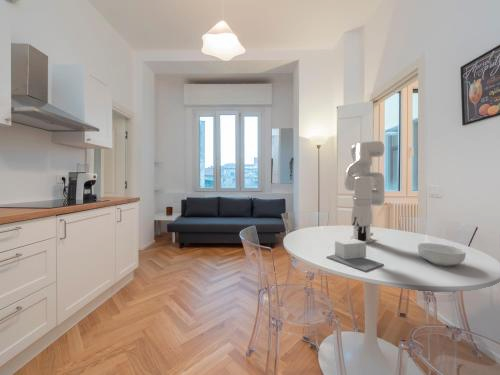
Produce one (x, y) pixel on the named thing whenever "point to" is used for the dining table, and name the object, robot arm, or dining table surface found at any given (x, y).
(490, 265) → the dining table surface
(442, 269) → the dining table surface
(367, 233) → the robot arm
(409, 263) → the dining table surface
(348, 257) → the supplement box
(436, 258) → the cereal bowl
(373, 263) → the mat
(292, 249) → the dining table surface
